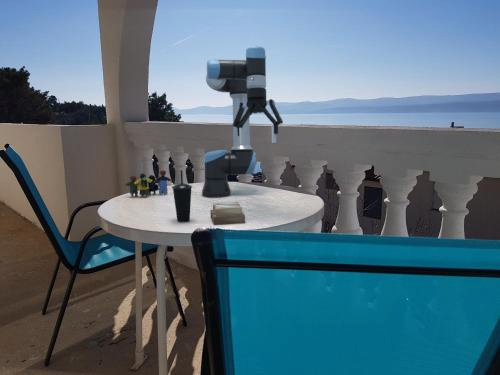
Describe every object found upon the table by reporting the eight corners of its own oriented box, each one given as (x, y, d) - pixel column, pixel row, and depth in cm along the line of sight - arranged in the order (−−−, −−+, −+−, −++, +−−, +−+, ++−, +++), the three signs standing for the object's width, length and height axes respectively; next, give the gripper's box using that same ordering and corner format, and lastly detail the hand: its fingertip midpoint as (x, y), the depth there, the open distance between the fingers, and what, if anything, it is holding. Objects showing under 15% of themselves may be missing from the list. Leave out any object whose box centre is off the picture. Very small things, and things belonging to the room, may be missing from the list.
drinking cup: (174, 218, 149) (172, 169, 145) (193, 217, 150) (192, 168, 146) (172, 223, 141) (170, 171, 138) (192, 222, 142) (190, 171, 139)
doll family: (166, 192, 204) (164, 168, 202) (174, 194, 198) (173, 169, 195) (125, 198, 189) (123, 172, 187) (133, 200, 183) (131, 174, 180)
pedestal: (210, 217, 151) (210, 201, 150) (239, 215, 153) (239, 200, 152) (213, 225, 139) (213, 208, 138) (245, 223, 142) (245, 207, 140)
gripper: (223, 90, 145) (224, 144, 146) (283, 82, 134) (284, 141, 136) (232, 93, 152) (233, 145, 153) (290, 86, 141) (291, 142, 142)
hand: (257, 143), depth 144 cm, fingers open, 13 cm apart
